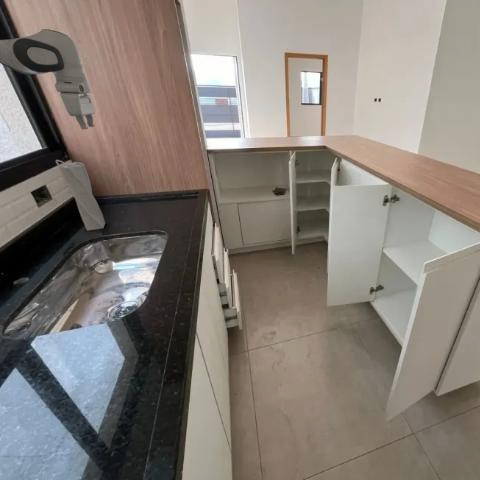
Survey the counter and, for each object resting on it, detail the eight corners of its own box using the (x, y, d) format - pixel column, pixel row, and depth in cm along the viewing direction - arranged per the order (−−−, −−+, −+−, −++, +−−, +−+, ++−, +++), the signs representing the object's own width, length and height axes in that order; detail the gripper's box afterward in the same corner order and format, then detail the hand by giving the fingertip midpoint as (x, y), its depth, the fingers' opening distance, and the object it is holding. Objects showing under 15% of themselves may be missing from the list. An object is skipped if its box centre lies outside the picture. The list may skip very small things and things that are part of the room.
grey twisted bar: (81, 232, 107) (51, 162, 93) (86, 225, 112) (57, 158, 99) (106, 229, 110) (79, 160, 97) (108, 222, 116) (84, 156, 103)
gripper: (72, 87, 103) (85, 125, 109) (52, 85, 87) (69, 130, 93) (92, 88, 105) (104, 125, 112) (76, 86, 89) (91, 130, 96)
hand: (88, 127), depth 102 cm, fingers open, 8 cm apart
